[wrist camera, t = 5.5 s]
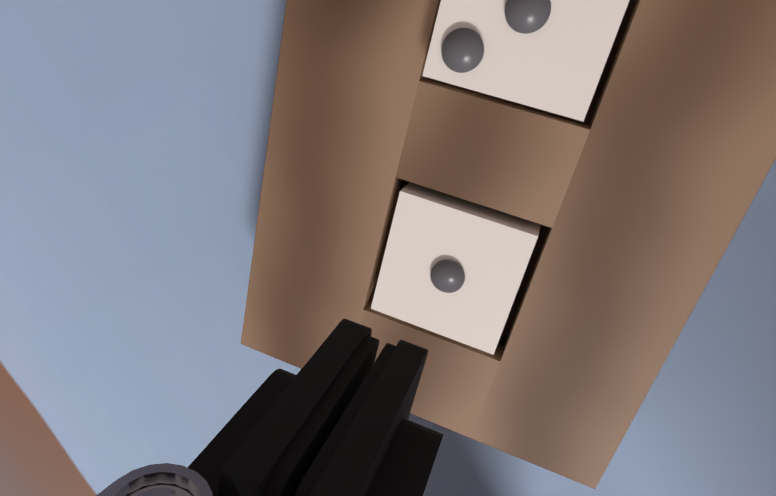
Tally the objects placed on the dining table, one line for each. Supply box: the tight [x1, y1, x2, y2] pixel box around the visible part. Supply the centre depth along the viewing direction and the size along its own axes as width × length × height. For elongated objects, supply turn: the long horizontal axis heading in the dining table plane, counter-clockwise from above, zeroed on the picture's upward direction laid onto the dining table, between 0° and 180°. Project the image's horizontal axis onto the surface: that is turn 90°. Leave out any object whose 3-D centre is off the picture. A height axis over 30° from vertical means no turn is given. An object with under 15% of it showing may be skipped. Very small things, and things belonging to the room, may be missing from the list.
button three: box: [423, 0, 629, 122], centre depth 15 cm, size 4×4×3 cm
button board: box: [241, 0, 776, 489], centre depth 16 cm, size 14×28×4 cm, turn 167°
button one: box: [371, 182, 541, 355], centre depth 19 cm, size 4×4×3 cm
